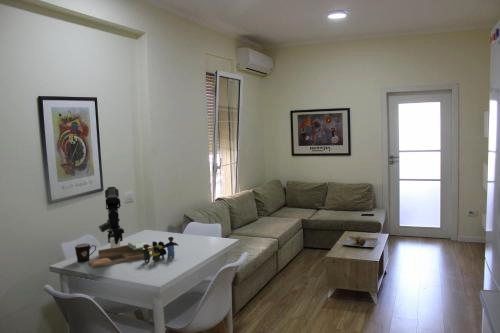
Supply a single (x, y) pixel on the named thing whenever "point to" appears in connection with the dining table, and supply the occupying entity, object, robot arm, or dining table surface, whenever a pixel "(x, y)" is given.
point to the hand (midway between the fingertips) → (115, 243)
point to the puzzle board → (116, 256)
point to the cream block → (112, 243)
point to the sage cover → (137, 245)
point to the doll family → (159, 250)
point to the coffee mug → (83, 252)
